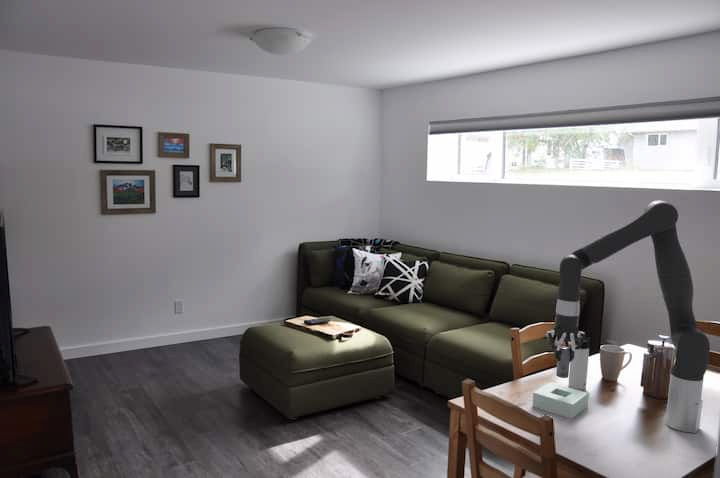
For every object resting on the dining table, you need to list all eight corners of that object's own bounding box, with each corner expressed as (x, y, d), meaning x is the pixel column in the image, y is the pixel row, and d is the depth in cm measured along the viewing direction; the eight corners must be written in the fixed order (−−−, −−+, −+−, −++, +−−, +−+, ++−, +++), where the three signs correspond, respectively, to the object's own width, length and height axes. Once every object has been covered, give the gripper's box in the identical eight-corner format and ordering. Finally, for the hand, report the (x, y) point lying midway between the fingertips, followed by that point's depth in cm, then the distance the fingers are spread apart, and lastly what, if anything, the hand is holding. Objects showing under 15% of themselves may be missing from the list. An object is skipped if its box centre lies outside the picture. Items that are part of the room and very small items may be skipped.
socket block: (587, 406, 196) (588, 393, 195) (571, 418, 186) (573, 404, 185) (549, 395, 205) (550, 382, 205) (532, 406, 195) (533, 392, 194)
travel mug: (589, 392, 209) (593, 340, 207) (571, 391, 209) (575, 340, 207) (582, 385, 215) (587, 335, 213) (565, 385, 215) (569, 335, 213)
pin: (570, 376, 194) (572, 348, 193) (565, 378, 191) (567, 350, 190) (559, 372, 197) (561, 345, 196) (554, 375, 194) (556, 348, 193)
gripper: (582, 310, 195) (578, 357, 197) (543, 309, 195) (539, 356, 197) (592, 315, 188) (588, 364, 190) (551, 314, 187) (547, 363, 189)
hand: (563, 360), depth 193 cm, fingers closed on pin, 4 cm apart
